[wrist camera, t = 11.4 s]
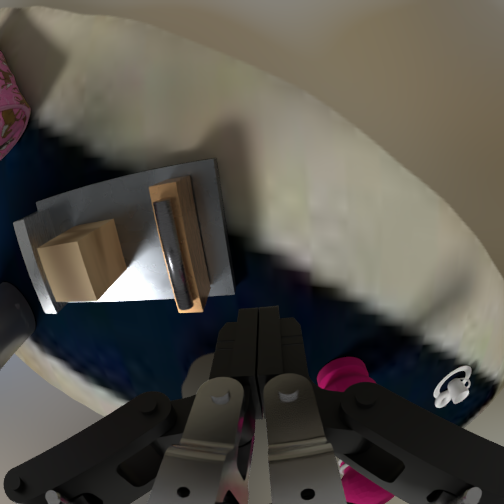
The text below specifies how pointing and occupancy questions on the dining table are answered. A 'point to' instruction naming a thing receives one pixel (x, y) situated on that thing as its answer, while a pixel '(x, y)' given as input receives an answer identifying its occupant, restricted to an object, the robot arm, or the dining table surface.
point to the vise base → (132, 231)
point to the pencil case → (11, 110)
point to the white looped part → (453, 388)
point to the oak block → (83, 261)
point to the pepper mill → (354, 484)
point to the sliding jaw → (181, 242)
